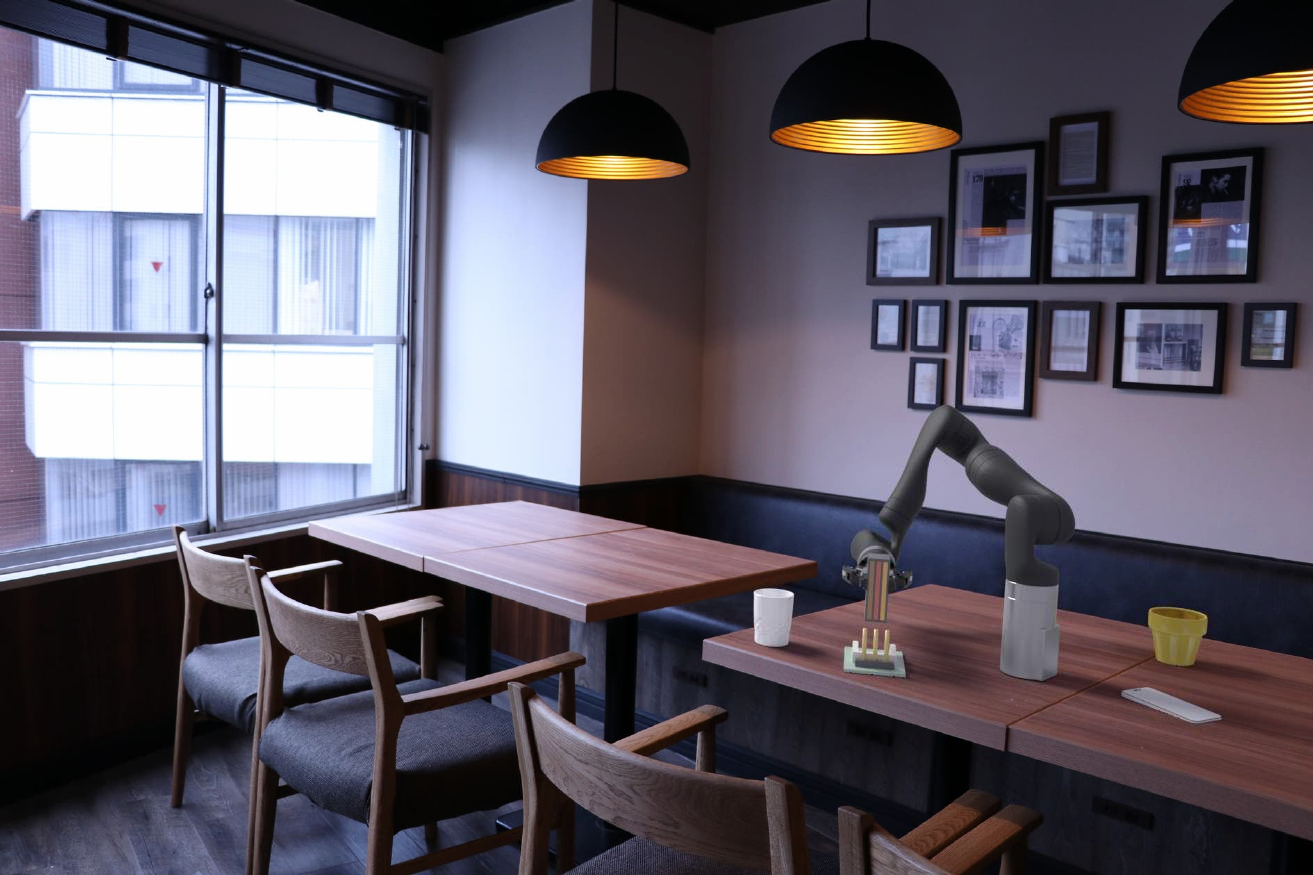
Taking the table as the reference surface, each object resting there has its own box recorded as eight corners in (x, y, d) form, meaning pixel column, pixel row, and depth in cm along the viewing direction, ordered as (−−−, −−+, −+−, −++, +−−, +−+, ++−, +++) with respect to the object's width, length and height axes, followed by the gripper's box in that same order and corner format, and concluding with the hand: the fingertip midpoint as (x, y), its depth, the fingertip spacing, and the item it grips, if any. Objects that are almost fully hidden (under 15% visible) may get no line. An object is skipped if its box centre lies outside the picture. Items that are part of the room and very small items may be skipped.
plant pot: (1143, 663, 202) (1147, 614, 201) (1146, 650, 211) (1150, 603, 210) (1203, 672, 197) (1208, 622, 196) (1203, 659, 206) (1207, 611, 206)
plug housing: (864, 614, 199) (868, 552, 198) (885, 616, 198) (889, 554, 197) (864, 621, 194) (868, 558, 193) (886, 623, 193) (890, 559, 192)
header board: (844, 649, 203) (846, 611, 203) (901, 654, 201) (904, 616, 201) (843, 671, 189) (845, 630, 188) (905, 677, 187) (908, 636, 186)
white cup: (778, 650, 201) (781, 599, 200) (744, 642, 206) (746, 592, 205) (798, 642, 207) (801, 593, 206) (764, 634, 212) (767, 586, 211)
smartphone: (1194, 721, 168) (1118, 690, 182) (1193, 728, 168) (1118, 696, 182) (1225, 716, 171) (1148, 686, 185) (1224, 723, 171) (1147, 692, 185)
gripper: (841, 545, 210) (840, 562, 194) (913, 551, 208) (918, 568, 191) (839, 582, 211) (838, 602, 194) (911, 587, 208) (915, 608, 192)
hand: (877, 585), depth 193 cm, fingers closed on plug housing, 4 cm apart
